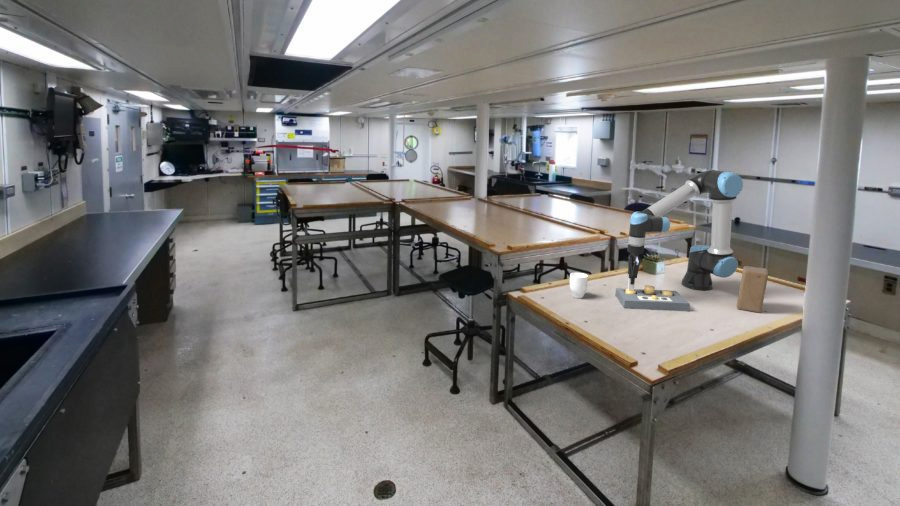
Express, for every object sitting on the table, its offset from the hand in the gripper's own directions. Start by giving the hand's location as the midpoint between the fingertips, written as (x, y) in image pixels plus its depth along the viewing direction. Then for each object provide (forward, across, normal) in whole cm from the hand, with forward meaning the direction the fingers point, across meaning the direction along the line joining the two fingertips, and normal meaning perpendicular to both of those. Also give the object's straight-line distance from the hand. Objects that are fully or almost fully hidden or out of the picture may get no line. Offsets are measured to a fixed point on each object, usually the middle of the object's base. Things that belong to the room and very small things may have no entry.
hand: (630, 289), depth 236 cm
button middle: (+2, 0, +9) cm, 9 cm away
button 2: (+5, 0, +18) cm, 19 cm away
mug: (+6, -2, -26) cm, 27 cm away
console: (+5, +4, +9) cm, 11 cm away
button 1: (+5, 0, 0) cm, 5 cm away
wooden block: (+5, +5, +55) cm, 56 cm away
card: (+1, +9, +9) cm, 13 cm away
